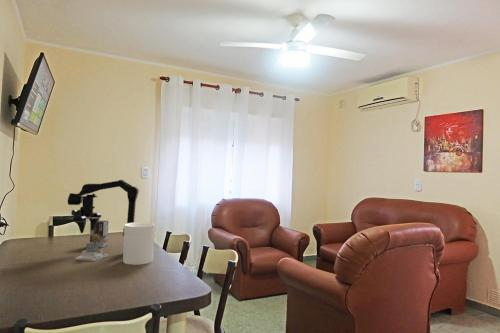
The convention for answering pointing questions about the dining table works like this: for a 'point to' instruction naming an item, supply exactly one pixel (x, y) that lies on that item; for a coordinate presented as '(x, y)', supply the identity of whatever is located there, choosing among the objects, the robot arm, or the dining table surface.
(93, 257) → the sleeve block
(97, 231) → the coffee box
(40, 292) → the dining table surface
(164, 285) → the dining table surface
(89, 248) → the column
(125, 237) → the canister
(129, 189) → the robot arm
